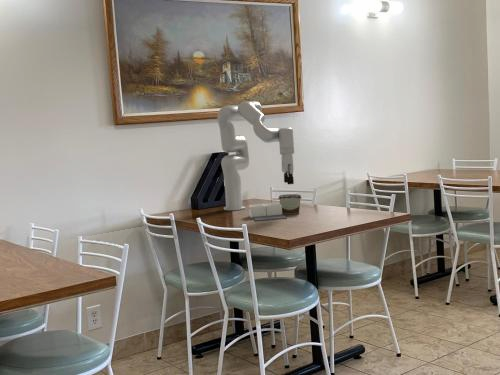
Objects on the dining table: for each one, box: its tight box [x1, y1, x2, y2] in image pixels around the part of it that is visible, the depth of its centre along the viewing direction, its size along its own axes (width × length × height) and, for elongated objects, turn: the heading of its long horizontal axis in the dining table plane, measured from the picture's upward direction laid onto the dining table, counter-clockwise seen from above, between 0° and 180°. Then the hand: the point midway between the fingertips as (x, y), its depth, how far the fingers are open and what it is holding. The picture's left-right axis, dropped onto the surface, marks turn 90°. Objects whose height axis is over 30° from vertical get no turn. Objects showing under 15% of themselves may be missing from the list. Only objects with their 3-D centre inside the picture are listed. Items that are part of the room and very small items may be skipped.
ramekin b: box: [263, 202, 282, 216], centre depth 337 cm, size 8×8×6 cm
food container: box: [278, 193, 302, 215], centre depth 339 cm, size 12×6×10 cm, turn 85°
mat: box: [252, 214, 288, 222], centre depth 329 cm, size 12×16×1 cm
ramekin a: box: [248, 203, 266, 219], centre depth 336 cm, size 8×8×6 cm
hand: (288, 183), depth 338 cm, fingers open, 9 cm apart
